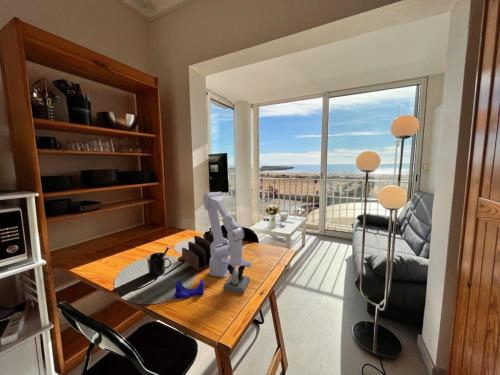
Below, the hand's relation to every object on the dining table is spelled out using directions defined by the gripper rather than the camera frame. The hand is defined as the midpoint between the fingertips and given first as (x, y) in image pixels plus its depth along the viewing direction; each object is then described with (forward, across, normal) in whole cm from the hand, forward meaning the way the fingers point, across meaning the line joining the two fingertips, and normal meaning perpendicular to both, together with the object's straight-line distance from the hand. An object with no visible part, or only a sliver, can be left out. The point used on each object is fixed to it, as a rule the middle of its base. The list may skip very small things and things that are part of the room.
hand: (236, 279), depth 100 cm
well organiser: (+3, 0, 0) cm, 3 cm away
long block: (+3, 0, 0) cm, 3 cm away
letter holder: (+4, -31, +17) cm, 35 cm away
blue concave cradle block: (+4, -19, -12) cm, 22 cm away
